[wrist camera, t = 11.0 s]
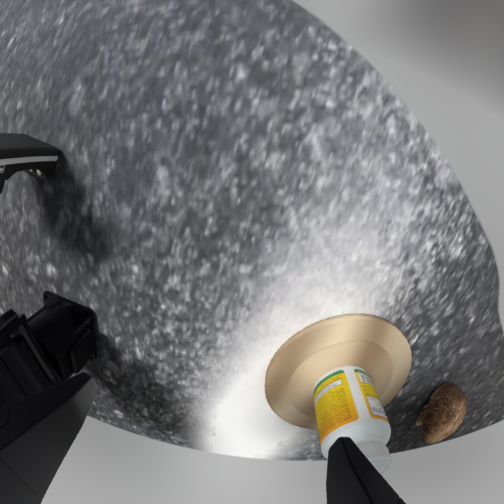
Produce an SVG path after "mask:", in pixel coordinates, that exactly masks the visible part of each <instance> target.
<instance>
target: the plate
mask: <svg viewBox="0 0 504 504" xmlns="http://www.w3.org/2000/svg"><path fill="white" fill-rule="evenodd" d="M411 361H412V356H411V349H410V346H409V344H408V341H407V340H406V338H405V337H404V335H403V334H402V333H401V331H400V330H399V329H398V328H397V327H396V326H395V325H394V324H392V323H391V322H389V321H388V320H386V319H383V318H381V317H378V316H374V315H370V314H345V315H338V316H334V317H330V318H327V319H324V320H321V321H318V322H316V323H314V324H312V325H310V326H307V327H306V328H304V329H302V330H301V331H299V332H297V333H296V334H295V335H293V336H292V337H291V338H289V339H288V340H287V341H286V342H285V343H284V344H283V345H282V346H281V347H280V348H279V349H278V351H277V352H276V353H275V355H274V356H273V358H272V359H271V361H270V363H269V366H268V368H267V372H266V377H265V394H266V398H267V401H268V404H269V405H270V407H271V409H272V410H273V411H274V412H275V413H276V414H277V415H278V416H279V417H280V418H282V419H283V420H285V421H287V422H289V423H291V424H293V425H296V426H299V427H304V428H309V429H318V425H317V419H316V412H315V406H314V400H313V388H314V386H315V384H316V382H317V381H318V379H319V378H320V377H321V376H322V375H324V374H325V373H327V372H329V371H330V370H332V369H334V368H337V367H340V366H346V365H353V366H358V367H361V368H363V369H364V370H365V371H366V372H367V373H368V374H369V376H370V378H371V380H372V382H373V385H374V387H375V390H376V392H377V395H378V397H379V400H380V402H381V404H382V407H384V406H386V405H387V404H388V403H389V402H390V401H391V400H392V399H393V398H394V397H395V396H396V395H397V394H398V392H399V391H400V390H401V388H402V387H403V385H404V383H405V381H406V379H407V377H408V375H409V372H410V368H411Z"/></svg>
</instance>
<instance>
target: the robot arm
mask: <svg viewBox="0 0 504 504" xmlns="http://www.w3.org/2000/svg"><path fill="white" fill-rule="evenodd" d="M43 301H44V307H43V308H42V309H40V310H39V311H38V312H36V313H35V314H34V315H32V316H31V317H30V318H28V319H27V318H26V316H25V314H24V313H23V314H20V315H17V313H15V312H14V311H13V310H12V309H10V310H8V311H6V312H5V313H4V314H2V315H1V316H0V504H41V502H42V499H43V497H44V495H45V493H46V491H47V489H48V487H49V485H50V484H51V482H52V480H53V478H54V476H55V474H56V472H57V470H58V468H59V466H60V465H61V463H62V461H63V459H64V457H65V455H66V454H67V452H68V450H69V448H70V447H71V445H72V443H73V441H74V440H75V438H76V436H77V434H78V433H79V431H80V429H81V427H82V425H83V423H84V421H85V418H86V416H87V414H88V411H89V409H90V407H91V405H92V402H93V400H94V398H95V395H96V386H95V380H94V377H93V376H92V375H90V374H88V373H85V372H83V373H80V374H78V375H76V376H74V377H72V378H70V376H71V375H72V374H73V373H74V374H77V373H79V371H80V370H81V369H82V368H83V366H84V365H85V364H86V363H87V362H88V360H90V361H92V362H94V361H95V360H96V359H97V356H96V344H95V335H94V329H93V317H92V311H91V310H90V309H89V308H87V307H85V306H82V305H80V304H77V303H75V302H72V301H70V300H67V299H65V298H63V297H60V296H58V295H56V294H53V293H51V292H49V291H45V292H44V293H43ZM86 312H87V313H88V314H87V313H86ZM326 491H327V504H406V503H405V502H404V501H403V500H402V499H401V498H399V495H398V494H397V493H396V492H395V491H394V490H393V488H392V487H391V486H390V485H389V484H388V483H387V481H386V480H385V479H384V478H383V477H382V476H381V474H380V473H379V472H378V471H377V470H376V468H375V467H374V466H373V465H372V464H371V462H370V461H369V460H368V459H367V457H366V456H365V455H364V454H363V453H362V451H361V450H360V449H359V448H358V446H357V445H356V444H355V443H354V441H353V440H352V439H351V438H350V437H339V438H337V440H336V441H335V442H334V443H333V444H332V446H331V447H330V448H329V451H328V465H327V480H326Z"/></svg>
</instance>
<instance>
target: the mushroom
mask: <svg viewBox="0 0 504 504" xmlns="http://www.w3.org/2000/svg"><path fill="white" fill-rule="evenodd" d="M466 407H467V402H466V397H465V394H464V392H463V391H462V390H461V388H460V387H458V386H456V385H454V384H452V383H445V384H443V385H442V386H440V387H438V388H437V389H436V390H435V391H434V393H433V394H432V395H431V397H430V399H429V402H428V404H426V405H425V406H424V407H423V409H422V411H421V413H420V415H419V417H418V419H417V421H416V424H415V426H418V425H422V435H423V439H424V440H425V442H426V443H428V444H433V443H436V442H438V441H441V440H443V439H444V438H446V437H447V436H449V435H451V434H452V433H453V432H455V430H456V429H457V428H458V427H459V425H460V424H461V423H462V421H463V419H464V416H465V413H466Z"/></svg>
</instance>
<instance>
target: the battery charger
mask: <svg viewBox="0 0 504 504" xmlns="http://www.w3.org/2000/svg"><path fill="white" fill-rule="evenodd" d="M58 152H59V150H58V148H56V147H54V146H52V145H49V144H47V143H44V142H42V141H40V140H37V139H35V138H32V137H30V136H27V135H25V134H6V133H0V194H1V193H2V190H3V187H4V182H5V180H8V179H9V178H10V177H11V176H12V175H13V174H14V173H16V172H17V171H22V170H24V171H26V172H27V173H29V174H31V175H33V176H35V177H37V178H39V179H41V180H45V179H47V178H49V177H50V175H51V174H52V172H53V169H54V166H55V163H56V161H57V159H58Z"/></svg>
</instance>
